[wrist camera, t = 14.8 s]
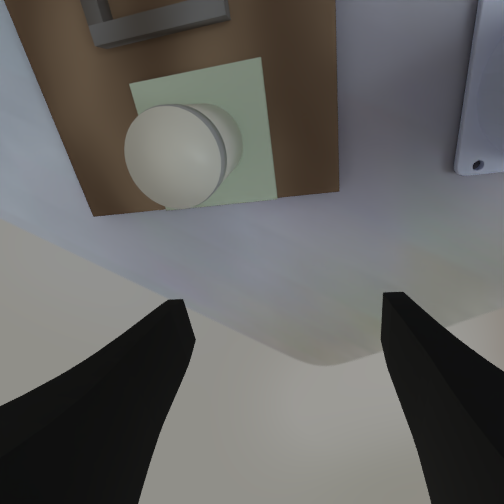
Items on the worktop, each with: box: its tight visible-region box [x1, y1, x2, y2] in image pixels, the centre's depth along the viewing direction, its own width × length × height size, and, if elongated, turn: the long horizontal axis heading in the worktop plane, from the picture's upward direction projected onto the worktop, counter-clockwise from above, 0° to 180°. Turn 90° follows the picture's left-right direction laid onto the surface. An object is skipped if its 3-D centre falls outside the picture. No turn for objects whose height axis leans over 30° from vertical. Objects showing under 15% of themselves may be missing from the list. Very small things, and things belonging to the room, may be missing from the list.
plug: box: [124, 103, 243, 209], centre depth 14 cm, size 4×4×5 cm
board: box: [4, 0, 339, 217], centre depth 12 cm, size 16×19×6 cm
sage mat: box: [129, 57, 278, 211], centre depth 16 cm, size 7×7×1 cm
